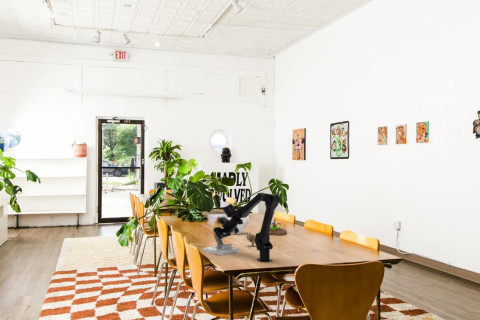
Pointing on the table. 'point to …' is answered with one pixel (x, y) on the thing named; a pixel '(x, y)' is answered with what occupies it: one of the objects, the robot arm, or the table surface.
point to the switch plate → (221, 249)
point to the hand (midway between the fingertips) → (219, 238)
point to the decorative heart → (244, 225)
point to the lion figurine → (251, 238)
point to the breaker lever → (218, 240)
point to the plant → (276, 230)
